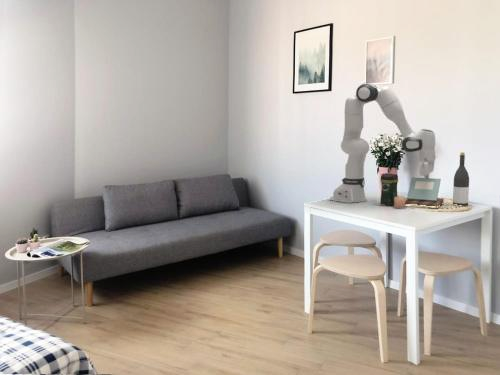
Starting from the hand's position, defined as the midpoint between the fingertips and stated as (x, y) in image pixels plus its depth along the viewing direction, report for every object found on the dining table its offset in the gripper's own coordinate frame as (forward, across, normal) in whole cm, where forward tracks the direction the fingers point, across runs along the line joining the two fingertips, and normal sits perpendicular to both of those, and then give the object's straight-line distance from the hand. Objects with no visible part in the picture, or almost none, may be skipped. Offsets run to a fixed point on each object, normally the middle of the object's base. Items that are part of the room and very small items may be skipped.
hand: (426, 181), depth 270 cm
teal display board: (+4, -5, 0) cm, 6 cm away
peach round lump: (+13, -17, +11) cm, 24 cm away
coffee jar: (+13, -11, +19) cm, 25 cm away
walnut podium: (+13, -5, 0) cm, 14 cm away
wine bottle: (+14, +4, -18) cm, 23 cm away
